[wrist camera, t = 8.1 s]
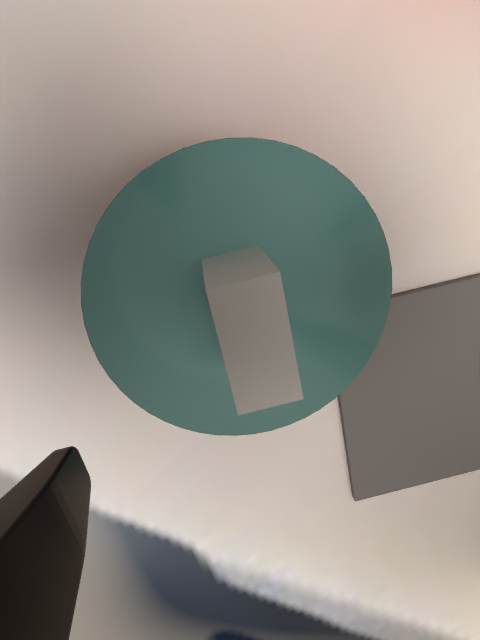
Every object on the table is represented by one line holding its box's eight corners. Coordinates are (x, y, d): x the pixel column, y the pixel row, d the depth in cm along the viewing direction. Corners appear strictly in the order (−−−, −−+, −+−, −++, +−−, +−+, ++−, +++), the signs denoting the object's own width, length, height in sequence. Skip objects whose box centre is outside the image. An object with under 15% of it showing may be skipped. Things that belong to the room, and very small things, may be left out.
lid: (390, 385, 18) (451, 453, 14) (140, 448, 18) (126, 537, 14) (365, 104, 14) (441, 84, 10) (38, 181, 14) (-26, 193, 10)
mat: (546, 446, 27) (551, 450, 27) (352, 496, 27) (355, 501, 27) (563, 253, 22) (569, 254, 22) (326, 311, 22) (328, 313, 22)
